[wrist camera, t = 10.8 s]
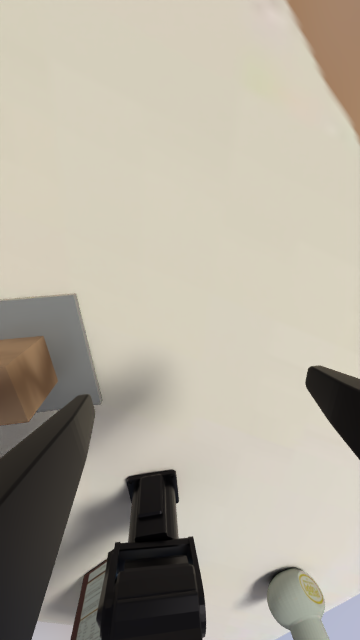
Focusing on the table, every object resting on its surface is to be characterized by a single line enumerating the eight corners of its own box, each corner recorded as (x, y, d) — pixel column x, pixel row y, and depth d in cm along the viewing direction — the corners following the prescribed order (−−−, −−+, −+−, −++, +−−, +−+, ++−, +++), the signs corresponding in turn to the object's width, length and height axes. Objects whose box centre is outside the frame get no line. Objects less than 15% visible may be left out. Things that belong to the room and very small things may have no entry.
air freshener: (315, 570, 43) (359, 659, 34) (286, 589, 45) (321, 679, 36) (284, 559, 40) (324, 655, 31) (255, 580, 42) (283, 676, 32)
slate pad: (102, 400, 22) (100, 404, 22) (-15, 414, 21) (-19, 419, 21) (75, 293, 18) (73, 295, 17) (-71, 305, 17) (-79, 307, 16)
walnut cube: (58, 381, 20) (28, 422, 15) (4, 387, 20) (-43, 430, 15) (43, 335, 18) (5, 366, 14) (-16, 341, 18) (-76, 374, 13)
